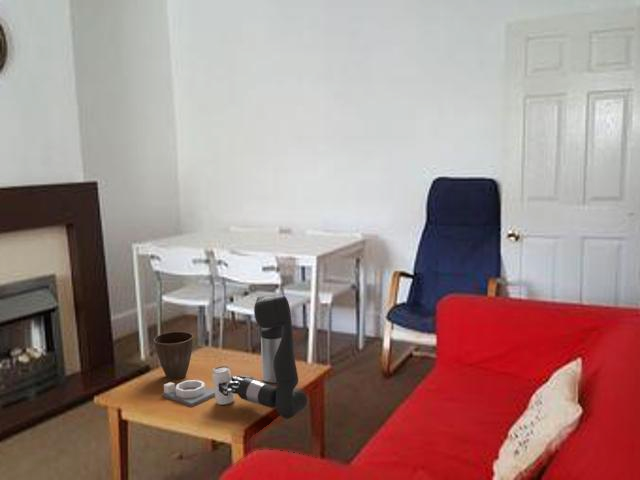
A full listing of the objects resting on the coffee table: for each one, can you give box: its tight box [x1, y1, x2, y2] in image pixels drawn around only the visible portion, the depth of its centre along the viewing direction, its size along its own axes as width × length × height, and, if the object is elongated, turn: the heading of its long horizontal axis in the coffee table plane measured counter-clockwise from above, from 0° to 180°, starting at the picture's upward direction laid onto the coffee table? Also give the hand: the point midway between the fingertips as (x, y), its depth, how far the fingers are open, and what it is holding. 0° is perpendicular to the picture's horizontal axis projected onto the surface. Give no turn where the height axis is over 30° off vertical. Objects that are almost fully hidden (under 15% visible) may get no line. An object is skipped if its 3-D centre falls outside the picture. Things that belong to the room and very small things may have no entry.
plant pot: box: [153, 331, 194, 381], centre depth 242 cm, size 15×15×16 cm
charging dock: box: [161, 379, 215, 407], centre depth 224 cm, size 13×16×4 cm
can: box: [211, 365, 235, 406], centre depth 217 cm, size 6×6×12 cm
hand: (220, 379), depth 219 cm, fingers closed on can, 4 cm apart
